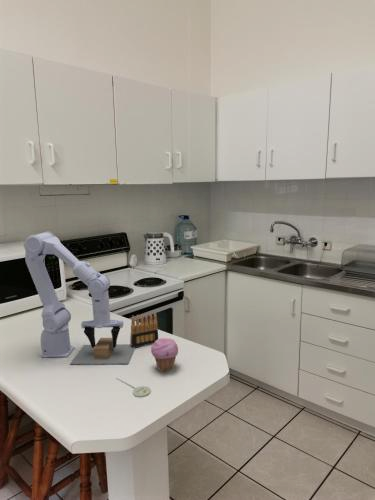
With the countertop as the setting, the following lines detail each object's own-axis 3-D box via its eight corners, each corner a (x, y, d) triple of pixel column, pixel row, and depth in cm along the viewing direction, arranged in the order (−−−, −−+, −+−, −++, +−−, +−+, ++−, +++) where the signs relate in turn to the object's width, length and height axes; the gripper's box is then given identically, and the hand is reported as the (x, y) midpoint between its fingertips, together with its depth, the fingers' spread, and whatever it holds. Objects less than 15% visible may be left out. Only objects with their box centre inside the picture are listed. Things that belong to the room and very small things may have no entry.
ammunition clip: (131, 347, 138) (131, 316, 136) (130, 345, 139) (129, 315, 137) (158, 342, 143) (158, 312, 141) (156, 340, 144) (156, 310, 142)
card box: (101, 347, 139) (100, 337, 138) (114, 347, 138) (113, 337, 138) (94, 359, 130) (93, 348, 129) (108, 359, 129) (107, 348, 129)
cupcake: (149, 364, 125) (147, 336, 124) (173, 359, 129) (172, 332, 127) (157, 377, 117) (155, 347, 115) (182, 371, 120) (181, 342, 119)
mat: (69, 364, 127) (69, 363, 127) (84, 345, 142) (84, 344, 142) (128, 364, 126) (128, 363, 126) (136, 345, 141) (136, 344, 141)
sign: (122, 374, 119) (154, 390, 109) (123, 376, 120) (154, 392, 109) (109, 380, 116) (140, 397, 106) (109, 383, 116) (140, 400, 106)
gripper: (77, 314, 127) (80, 351, 130) (119, 313, 127) (121, 351, 129) (83, 307, 134) (86, 342, 137) (123, 306, 134) (126, 342, 136)
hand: (104, 346), depth 133 cm, fingers open, 7 cm apart
